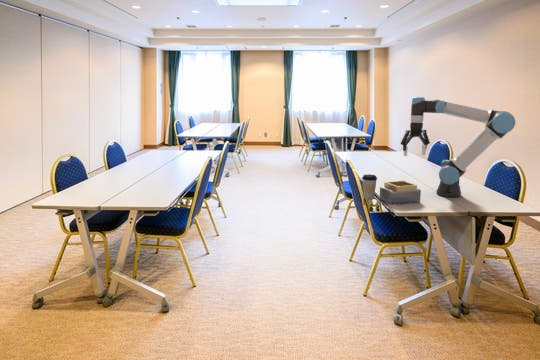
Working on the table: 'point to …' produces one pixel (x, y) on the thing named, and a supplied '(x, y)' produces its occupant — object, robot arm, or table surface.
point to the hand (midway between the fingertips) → (414, 155)
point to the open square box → (399, 193)
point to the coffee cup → (369, 186)
